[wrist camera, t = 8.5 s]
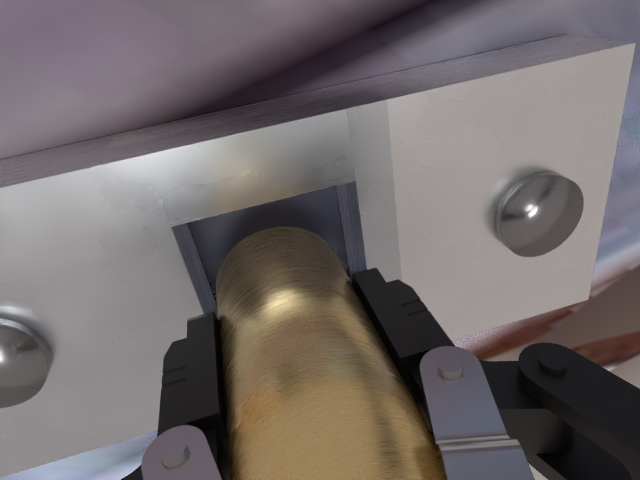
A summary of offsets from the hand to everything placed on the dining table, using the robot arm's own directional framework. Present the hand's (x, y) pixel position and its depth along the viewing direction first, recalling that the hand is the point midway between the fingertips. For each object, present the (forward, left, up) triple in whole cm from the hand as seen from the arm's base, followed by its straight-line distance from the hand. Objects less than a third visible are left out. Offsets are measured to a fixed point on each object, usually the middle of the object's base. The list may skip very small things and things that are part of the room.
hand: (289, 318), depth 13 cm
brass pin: (0, 0, -2) cm, 2 cm away
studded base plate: (0, 0, -5) cm, 5 cm away
